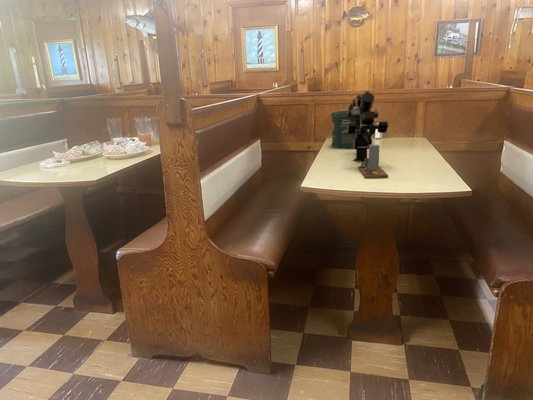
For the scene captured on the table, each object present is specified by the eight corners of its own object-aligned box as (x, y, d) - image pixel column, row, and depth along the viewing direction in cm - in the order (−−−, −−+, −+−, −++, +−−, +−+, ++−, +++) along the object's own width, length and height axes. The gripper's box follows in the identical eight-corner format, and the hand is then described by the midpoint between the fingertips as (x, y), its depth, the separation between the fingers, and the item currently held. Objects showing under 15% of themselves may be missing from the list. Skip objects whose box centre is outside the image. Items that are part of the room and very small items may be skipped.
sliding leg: (364, 170, 198) (365, 144, 195) (377, 169, 198) (378, 144, 195) (365, 171, 195) (366, 146, 192) (378, 171, 195) (379, 145, 192)
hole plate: (357, 168, 209) (358, 158, 207) (378, 168, 208) (379, 157, 207) (365, 178, 190) (365, 167, 189) (388, 177, 190) (388, 166, 188)
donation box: (357, 149, 258) (358, 101, 250) (330, 148, 263) (330, 101, 255) (360, 144, 272) (361, 98, 264) (334, 144, 277) (334, 99, 269)
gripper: (348, 105, 205) (351, 132, 198) (388, 104, 204) (392, 130, 197) (345, 120, 215) (348, 146, 207) (383, 119, 214) (388, 145, 207)
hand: (369, 141), depth 204 cm, fingers closed
